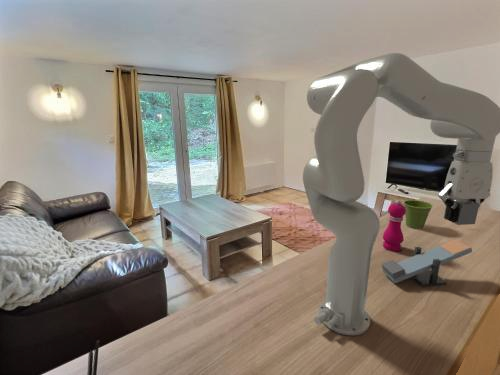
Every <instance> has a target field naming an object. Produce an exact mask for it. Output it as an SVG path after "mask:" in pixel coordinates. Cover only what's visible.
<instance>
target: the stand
mask: <svg viewBox="0 0 500 375" xmlns="http://www.w3.org/2000/svg"><path fill="white" fill-rule="evenodd" d="M422 249H423V248H422V247H421V246H417V247H416V246H415V247H414V250H413V251H414V252H413V256H415V255H418V254H420V253H422ZM440 262H441V260H439V259H433V264H432V269H429V270H427V271H424V272H422V273H419V274H417V275H414V276H412V277H410V278H411V280H413V281H414V282H416V283H417V284H418V285H420V287H422V288H428V287H439V286H442V287H443V286H447V285H448V282H447V281H446V280H444V279H443V278H442V277H440V276H439V272H440V267H441V265H440Z"/></svg>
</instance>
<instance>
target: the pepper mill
mask: <svg viewBox="0 0 500 375" xmlns="http://www.w3.org/2000/svg"><path fill="white" fill-rule="evenodd" d="M401 203H402V202H401V200H400V199H396V200H395V203H391V204H389V206H388V209H387V211H388V212H387V213H388V220H389V222H388V225H387V226H386V229H385V230H384V231H383V234H382V239H383V243H382V248H383V249H385V250H387V251H389V252H400V251H401V247H402V244H403V243H404V234H403V231H402V226H401V225H402V222H403V221H404V216H406V215H405V213H406V209H405V206H404V204H401Z"/></svg>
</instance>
